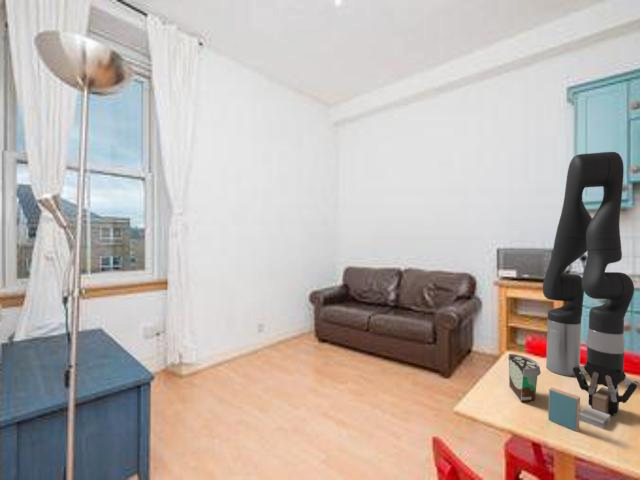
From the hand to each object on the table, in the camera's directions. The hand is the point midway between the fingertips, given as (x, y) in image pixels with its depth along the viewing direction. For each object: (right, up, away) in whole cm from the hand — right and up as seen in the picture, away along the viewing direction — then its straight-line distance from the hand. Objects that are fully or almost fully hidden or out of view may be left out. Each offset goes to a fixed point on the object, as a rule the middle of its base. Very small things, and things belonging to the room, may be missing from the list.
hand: (603, 410), depth 89 cm
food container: (-15, 0, +8) cm, 17 cm away
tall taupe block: (-2, 0, -2) cm, 3 cm away
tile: (-15, 0, -6) cm, 16 cm away
